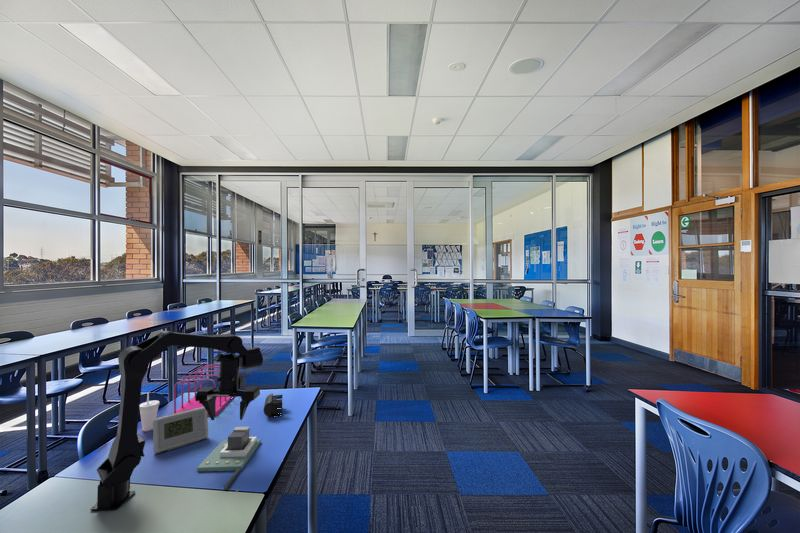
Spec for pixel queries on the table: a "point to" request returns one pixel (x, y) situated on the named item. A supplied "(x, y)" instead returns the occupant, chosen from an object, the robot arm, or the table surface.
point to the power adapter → (273, 405)
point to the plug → (238, 438)
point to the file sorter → (192, 403)
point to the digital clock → (179, 429)
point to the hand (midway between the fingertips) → (227, 419)
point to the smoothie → (148, 413)
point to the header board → (228, 457)
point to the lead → (232, 478)
